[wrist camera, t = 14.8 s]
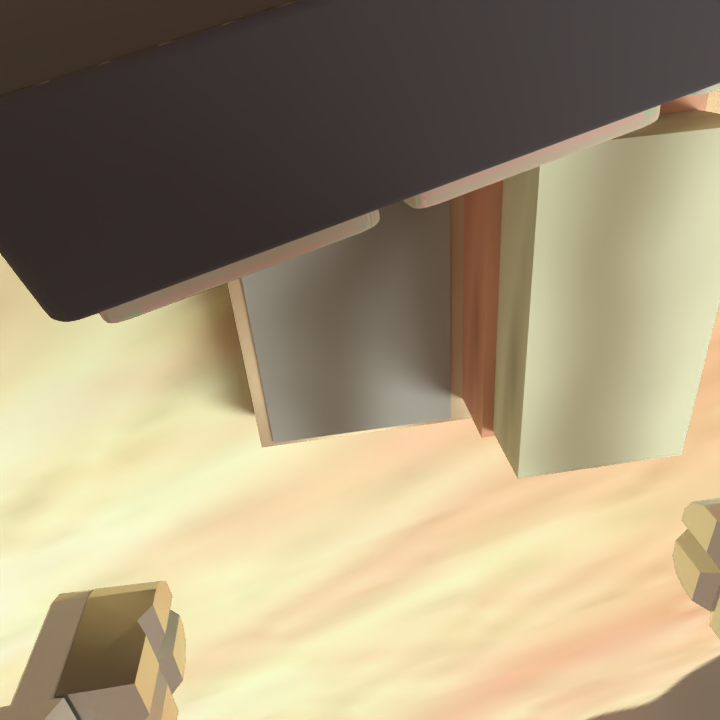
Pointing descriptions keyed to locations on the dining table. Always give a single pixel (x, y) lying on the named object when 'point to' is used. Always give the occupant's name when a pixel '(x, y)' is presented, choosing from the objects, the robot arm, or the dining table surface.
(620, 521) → the dining table surface
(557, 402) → the sticky note pad set
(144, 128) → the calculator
